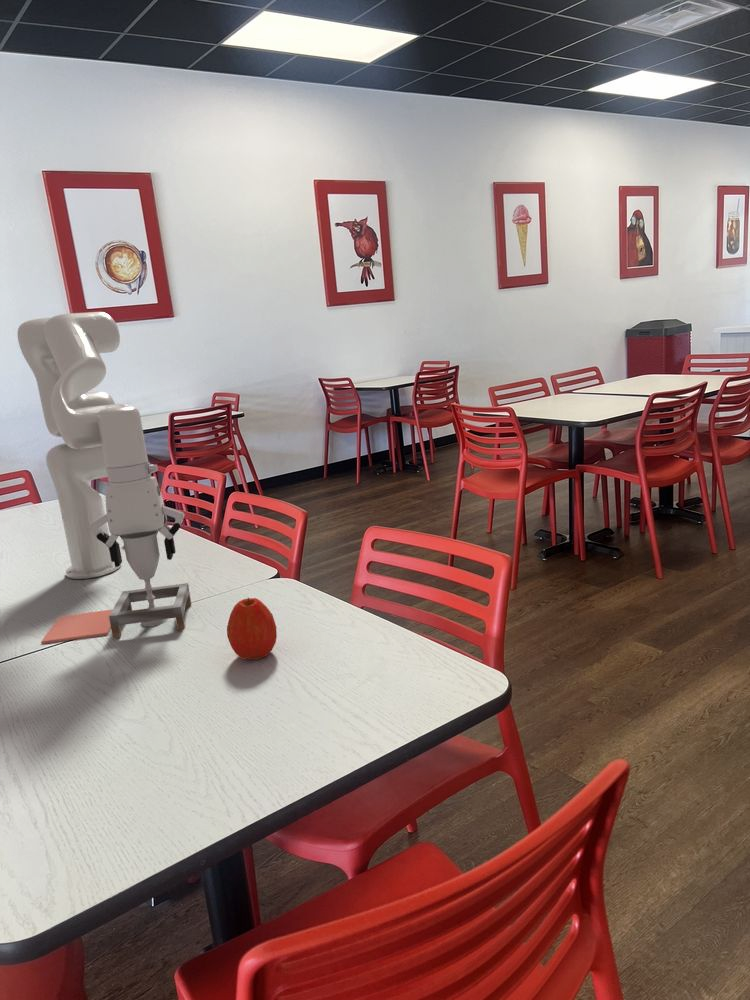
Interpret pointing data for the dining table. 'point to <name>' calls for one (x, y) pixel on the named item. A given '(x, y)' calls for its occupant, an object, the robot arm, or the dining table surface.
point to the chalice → (144, 562)
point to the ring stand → (126, 615)
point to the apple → (251, 629)
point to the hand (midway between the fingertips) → (144, 561)
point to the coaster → (79, 626)
